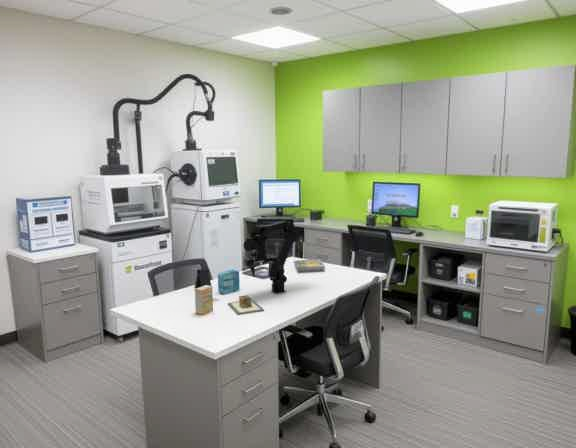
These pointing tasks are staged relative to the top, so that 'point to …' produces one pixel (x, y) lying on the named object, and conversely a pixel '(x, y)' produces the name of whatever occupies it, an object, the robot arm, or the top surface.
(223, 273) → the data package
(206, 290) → the supplement box
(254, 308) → the slate pad
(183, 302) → the top surface
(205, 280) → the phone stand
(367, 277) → the top surface
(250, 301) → the walnut cube
